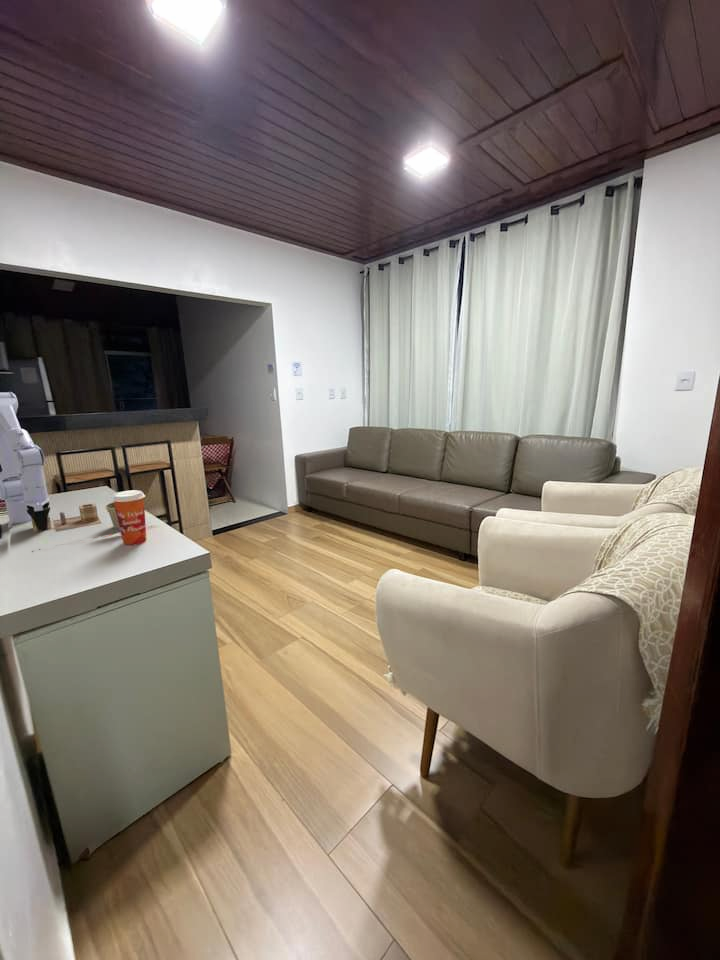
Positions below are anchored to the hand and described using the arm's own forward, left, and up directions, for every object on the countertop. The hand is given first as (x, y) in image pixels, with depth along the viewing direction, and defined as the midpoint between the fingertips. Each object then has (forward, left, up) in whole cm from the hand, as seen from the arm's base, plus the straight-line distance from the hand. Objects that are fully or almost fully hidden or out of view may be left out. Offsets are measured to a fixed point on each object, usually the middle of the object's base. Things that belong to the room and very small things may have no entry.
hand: (42, 527), depth 120 cm
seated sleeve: (0, +12, 0) cm, 13 cm away
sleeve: (0, 0, -1) cm, 1 cm away
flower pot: (+15, +20, -2) cm, 25 cm away
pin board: (0, +9, -1) cm, 9 cm away
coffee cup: (+29, +20, -2) cm, 36 cm away
